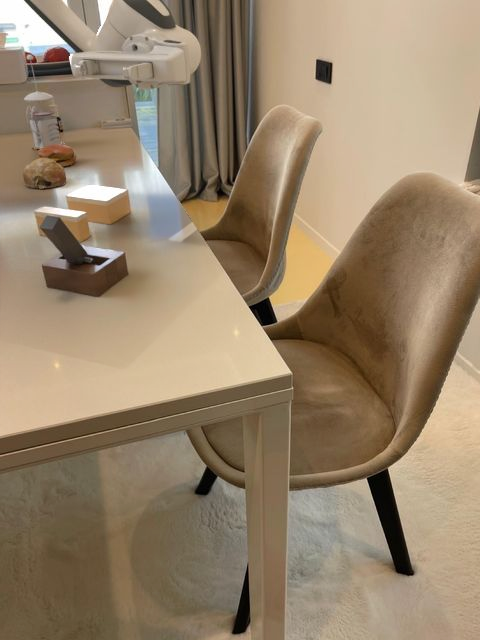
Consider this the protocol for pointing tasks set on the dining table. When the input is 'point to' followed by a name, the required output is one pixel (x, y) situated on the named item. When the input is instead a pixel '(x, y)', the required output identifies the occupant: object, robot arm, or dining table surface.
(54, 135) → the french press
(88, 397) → the dining table surface
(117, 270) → the knife block
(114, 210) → the cake
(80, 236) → the cake slice
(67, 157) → the burger
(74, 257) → the cake knife
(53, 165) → the bread roll
